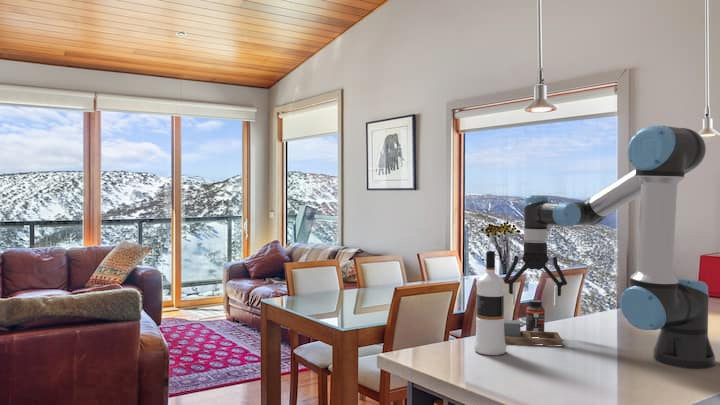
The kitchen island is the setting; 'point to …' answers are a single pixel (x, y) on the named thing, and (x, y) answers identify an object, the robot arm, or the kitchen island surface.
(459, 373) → the kitchen island surface
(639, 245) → the robot arm
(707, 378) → the kitchen island surface
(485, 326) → the vodka
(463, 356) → the kitchen island surface
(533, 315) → the supplement bottle
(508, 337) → the brown wooden frame
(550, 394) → the kitchen island surface
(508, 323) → the block
